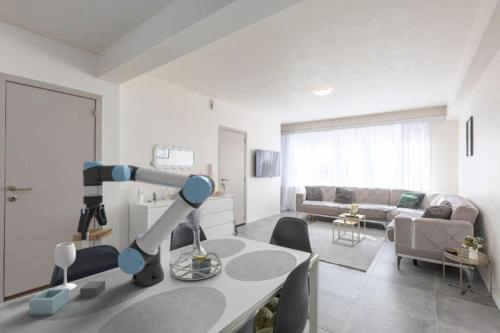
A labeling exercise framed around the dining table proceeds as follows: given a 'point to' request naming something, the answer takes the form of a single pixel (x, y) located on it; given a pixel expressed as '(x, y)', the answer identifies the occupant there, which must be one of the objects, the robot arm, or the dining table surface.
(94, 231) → the lid
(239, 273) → the dining table surface
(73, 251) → the wineglass
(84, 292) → the gray square block
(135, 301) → the dining table surface
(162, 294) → the dining table surface
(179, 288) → the dining table surface
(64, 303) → the dish
